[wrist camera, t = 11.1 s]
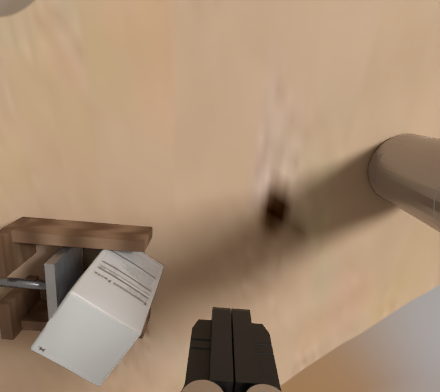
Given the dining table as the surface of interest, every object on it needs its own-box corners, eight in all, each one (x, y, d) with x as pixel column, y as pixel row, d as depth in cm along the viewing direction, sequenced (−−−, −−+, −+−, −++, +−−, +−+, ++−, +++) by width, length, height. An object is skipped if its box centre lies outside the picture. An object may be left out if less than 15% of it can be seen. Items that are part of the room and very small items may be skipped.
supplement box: (133, 307, 50) (98, 390, 36) (83, 276, 49) (25, 350, 34) (166, 265, 48) (142, 336, 34) (115, 232, 46) (67, 291, 32)
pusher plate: (82, 237, 46) (54, 264, 38) (84, 300, 49) (59, 337, 41) (-42, 227, 46) (-95, 252, 38) (-32, 292, 49) (-79, 327, 41)
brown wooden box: (152, 227, 46) (140, 248, 39) (150, 315, 50) (139, 348, 44) (22, 216, 46) (-12, 236, 39) (31, 306, 50) (2, 338, 43)
